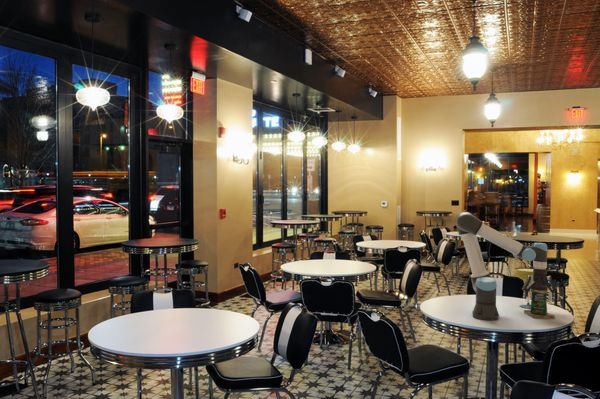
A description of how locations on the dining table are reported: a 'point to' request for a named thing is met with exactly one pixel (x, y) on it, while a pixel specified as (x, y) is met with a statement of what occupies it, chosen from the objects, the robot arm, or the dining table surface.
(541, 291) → the coffee jar
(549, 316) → the walnut board
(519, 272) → the cocktail glass
